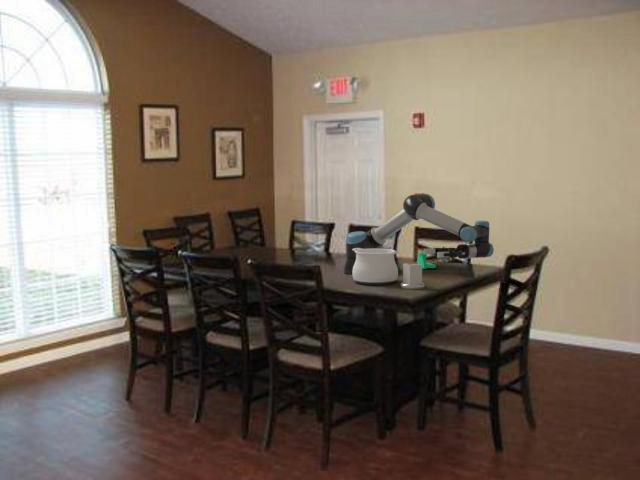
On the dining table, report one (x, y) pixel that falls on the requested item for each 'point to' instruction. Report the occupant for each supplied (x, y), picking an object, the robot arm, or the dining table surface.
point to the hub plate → (412, 286)
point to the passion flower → (446, 258)
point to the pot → (375, 266)
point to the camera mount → (422, 261)
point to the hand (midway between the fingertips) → (430, 253)
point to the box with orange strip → (412, 273)
